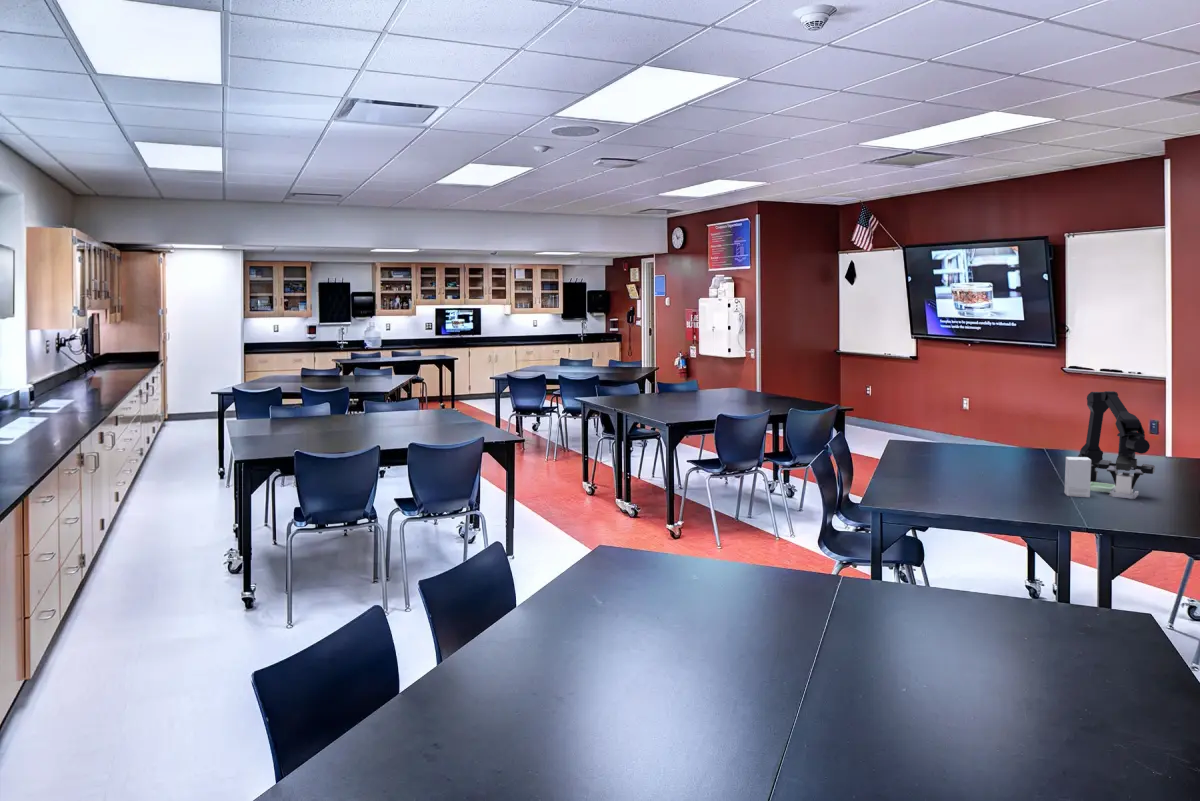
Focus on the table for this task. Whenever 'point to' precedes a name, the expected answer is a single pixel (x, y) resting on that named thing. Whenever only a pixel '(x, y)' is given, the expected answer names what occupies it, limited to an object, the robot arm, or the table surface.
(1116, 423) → the robot arm
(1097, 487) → the tray
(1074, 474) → the skincare box
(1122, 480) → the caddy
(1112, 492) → the dock
